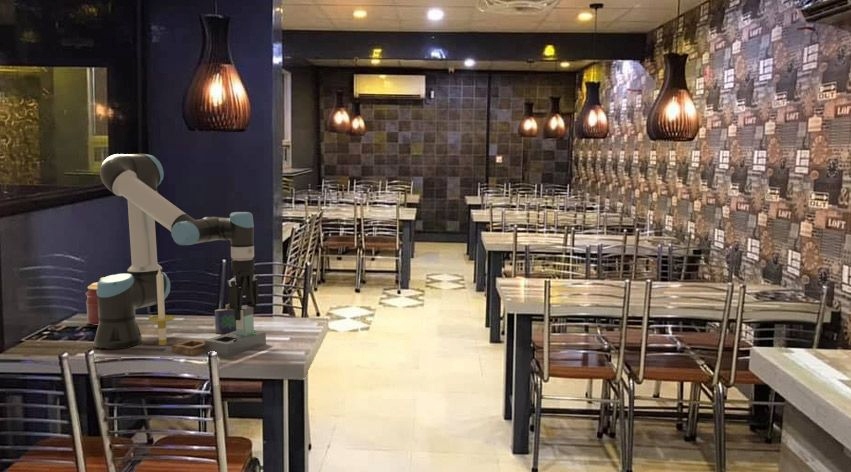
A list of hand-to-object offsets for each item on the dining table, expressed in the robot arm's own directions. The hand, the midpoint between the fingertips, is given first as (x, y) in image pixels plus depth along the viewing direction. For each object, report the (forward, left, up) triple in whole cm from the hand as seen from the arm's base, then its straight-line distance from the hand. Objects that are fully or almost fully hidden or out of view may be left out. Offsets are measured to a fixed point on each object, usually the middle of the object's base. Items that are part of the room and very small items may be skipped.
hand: (244, 327), depth 248 cm
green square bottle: (0, 0, -5) cm, 5 cm away
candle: (-26, -12, -7) cm, 30 cm away
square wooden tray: (-11, -13, -7) cm, 18 cm away
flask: (-19, +12, -7) cm, 24 cm away
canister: (-73, +2, -7) cm, 74 cm away
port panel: (0, -4, -7) cm, 8 cm away
